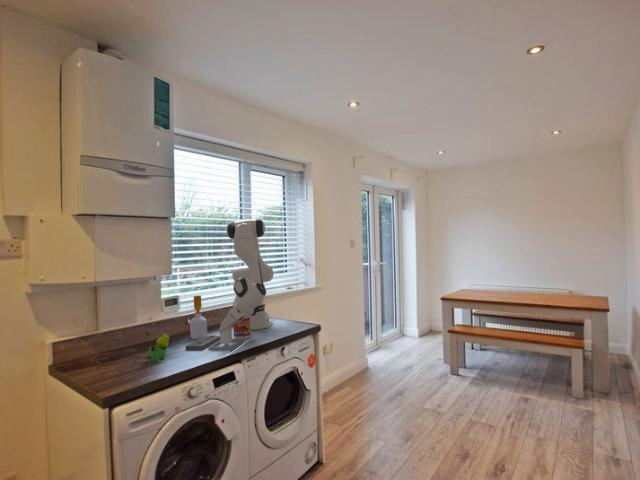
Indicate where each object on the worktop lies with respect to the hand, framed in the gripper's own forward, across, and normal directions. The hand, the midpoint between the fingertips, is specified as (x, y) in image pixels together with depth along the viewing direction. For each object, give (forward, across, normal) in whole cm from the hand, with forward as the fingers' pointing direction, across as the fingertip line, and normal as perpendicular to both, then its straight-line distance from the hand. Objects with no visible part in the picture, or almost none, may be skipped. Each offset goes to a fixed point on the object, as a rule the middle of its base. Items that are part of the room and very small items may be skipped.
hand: (224, 330), depth 187 cm
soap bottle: (+24, -18, -11) cm, 32 cm away
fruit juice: (+5, -17, +8) cm, 19 cm away
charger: (+6, 0, +6) cm, 8 cm away
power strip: (+16, -2, -3) cm, 16 cm away
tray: (+6, 0, +7) cm, 9 cm away
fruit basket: (+24, +18, -11) cm, 32 cm away
